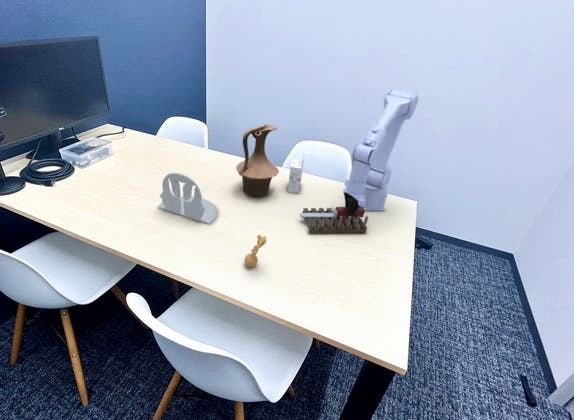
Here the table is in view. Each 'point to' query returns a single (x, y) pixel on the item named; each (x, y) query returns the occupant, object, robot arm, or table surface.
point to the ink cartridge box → (295, 175)
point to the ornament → (186, 199)
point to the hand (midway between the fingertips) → (349, 212)
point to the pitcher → (257, 164)
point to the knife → (336, 213)
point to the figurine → (255, 252)
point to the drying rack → (335, 223)
